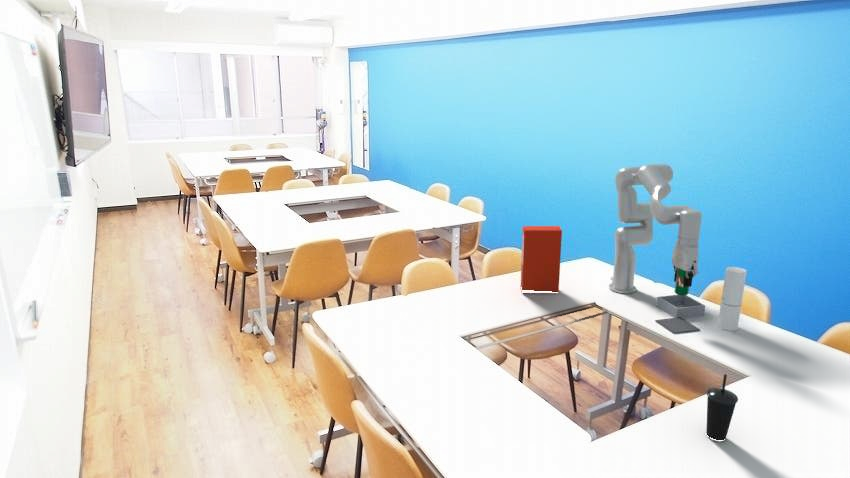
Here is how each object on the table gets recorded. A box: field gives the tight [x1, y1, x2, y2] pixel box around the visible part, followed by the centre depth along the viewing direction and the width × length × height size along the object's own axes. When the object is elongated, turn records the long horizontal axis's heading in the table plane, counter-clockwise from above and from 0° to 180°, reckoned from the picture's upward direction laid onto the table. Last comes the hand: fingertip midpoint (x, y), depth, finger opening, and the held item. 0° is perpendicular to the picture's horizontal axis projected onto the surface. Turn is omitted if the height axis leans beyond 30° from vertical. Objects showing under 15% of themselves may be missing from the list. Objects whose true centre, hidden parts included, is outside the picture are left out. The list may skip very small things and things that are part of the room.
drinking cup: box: [705, 374, 739, 440], centre depth 148 cm, size 8×8×20 cm
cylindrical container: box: [717, 266, 747, 332], centre depth 214 cm, size 7×7×25 cm
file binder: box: [520, 225, 563, 293], centre depth 254 cm, size 8×17×32 cm, turn 86°
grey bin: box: [656, 294, 706, 319], centre depth 233 cm, size 14×14×4 cm
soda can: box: [674, 268, 691, 296], centre depth 214 cm, size 5×5×12 cm
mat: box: [654, 317, 701, 335], centre depth 219 cm, size 12×12×1 cm
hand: (682, 283), depth 214 cm, fingers closed on soda can, 5 cm apart
